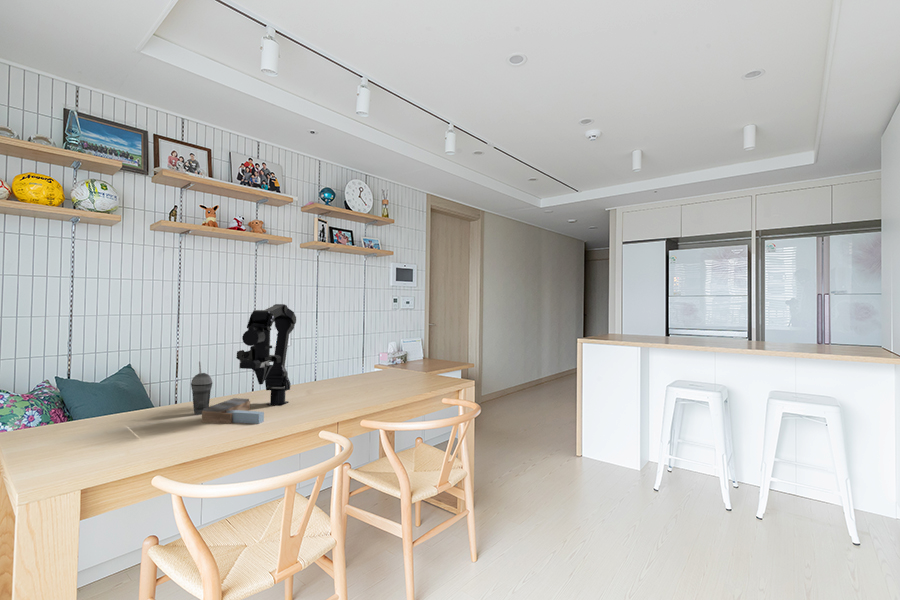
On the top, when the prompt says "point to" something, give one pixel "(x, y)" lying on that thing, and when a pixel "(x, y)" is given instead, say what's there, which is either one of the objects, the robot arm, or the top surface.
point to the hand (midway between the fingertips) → (260, 384)
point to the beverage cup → (201, 391)
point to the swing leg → (247, 416)
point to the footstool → (224, 410)
